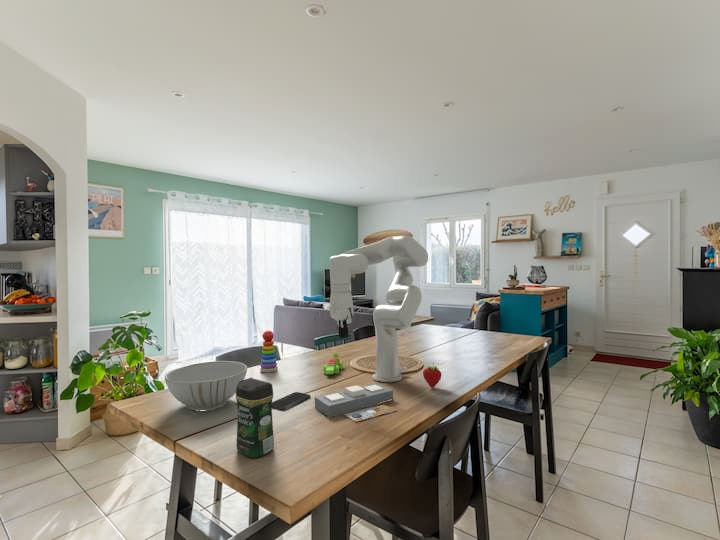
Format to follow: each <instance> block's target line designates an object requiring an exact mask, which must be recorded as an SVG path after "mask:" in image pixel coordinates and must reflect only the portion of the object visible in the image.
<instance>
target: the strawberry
mask: <svg viewBox="0 0 720 540" xmlns="http://www.w3.org/2000/svg"><path fill="white" fill-rule="evenodd" d="M432 364H433V365H432V366H431V365H428V366H427V367H425V368H424V369H423V371H422V375H423V379H424V381H426V384H428V385H429V388H431V387H434V388H435V386H437V384H438V383H439V382H440V381H441V378H442V376H443V375H442V372H441V371H440V368H439V367H437V366H438V365H434V362H432Z"/></svg>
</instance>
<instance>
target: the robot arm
mask: <svg viewBox="0 0 720 540" xmlns="http://www.w3.org/2000/svg"><path fill="white" fill-rule="evenodd" d="M390 258H392V263H393V266H394V271H395V273H394V278H393V279H392V281H391V283H390V286H389V287H388V290H387V292H386V295H385V301H386V302H387V304H386V303H384V304H378V305H377V306H376V307H375V308H374V309H373V312H372V319H373V324H374V331H375V372H374V373H373V374H372V379H373V380H374V381H376V382H379V381H380V382H381V383H395V382H398V381H401V380H402V379H403V375H402V374H401V373H403V372H407V371H408V368H407V366H400V365H399V337H398V333H397V331H396V329H403V330H405V329H407V328H409V327H410V326H411V325H412V323H413V321H414V319H415V317H416V315H417V312H418V310H419V308H420V306H421V302H422V291H421V289H420V287H418V286H417V285H413V282H414V278H413V275H412V273H411V271H410V268H416V267H417V268H420V267H424V266H426V264H427V263H428V261H429V253H428V251H427V250H426V248H425V247H423V245H422V244H421V243H419V241H417V240H416V239H415V238H413V237H411V236H410V235H407V234H406V235H405V234H404V235H393V236H391V235H390V236H388V237H385V238H384V239H381V240H379V241H376V242H373V243H371V244H367V245H364V246H361V247H357V248H354V249H351V250H347V251H345V252H343V253H341V254H339V255H332V256H331V257H330V258H329V260H328V261H329V277H330V279H329V280H330V295H329V296H330V298H329V300H330V301H329V314H330V317H331V319H334V321H335V322H337V323H336V324H337V327H338V338H339V339H345V338H349V324H352V323H353V320H352V319H354V316H355V314H354V312H355V311H354V302H353V295H352V283H351V282H352V280H351V278H352V277H351V275H352V274H356V275H357V274H363V273H365V272H366V271H367V270H368V268H369V266H370V265H371V266H372V265H377V264H380V263H383V262H384V261H386V260H388V259H390Z"/></svg>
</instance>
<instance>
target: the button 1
mask: <svg viewBox="0 0 720 540" xmlns="http://www.w3.org/2000/svg"><path fill="white" fill-rule="evenodd" d="M325 399H327V400H328V401H330V402H335V401H340V400H344V399H345V397H343V396H342V395H340V394H338V393H336V394H331V395H327V396H325Z"/></svg>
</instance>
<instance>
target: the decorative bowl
mask: <svg viewBox="0 0 720 540" xmlns="http://www.w3.org/2000/svg"><path fill="white" fill-rule="evenodd" d="M247 372H248V366H247V365H246V364H245V363H243V362H239V361H230V360H215V361H205V362H204V361H203V362H196V363H191V364H187V365H183V366H180V367H176V368H174V369H171V370H169V371H168V372H167V373H165V375H164V381H165V384H166V387H167V388H168V390H169V392H170V394H171V395H172V396H173V397H174V398H175V399H176V400H177V401H178V402H180V403H181V404H183V405H184V406H187V407H188V409H189V408H190V409H192V410H191V411H193V410H199V411H198V412H201V411H200V410H210V411H213V410H212V409H214V410H217V409H216V408H218V409H220V408H222V407H224V406H225V405H226V404H227V403H228V401H229V400H230V399H231V398H233V397H234V396H235V395H236V386H237V384H238V383H239V381H241V380H245V379H246V376H247V375H246V374H247ZM223 405H224V406H223ZM221 406H222V407H221ZM219 407H220V408H219ZM190 409H189V410H190Z"/></svg>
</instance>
